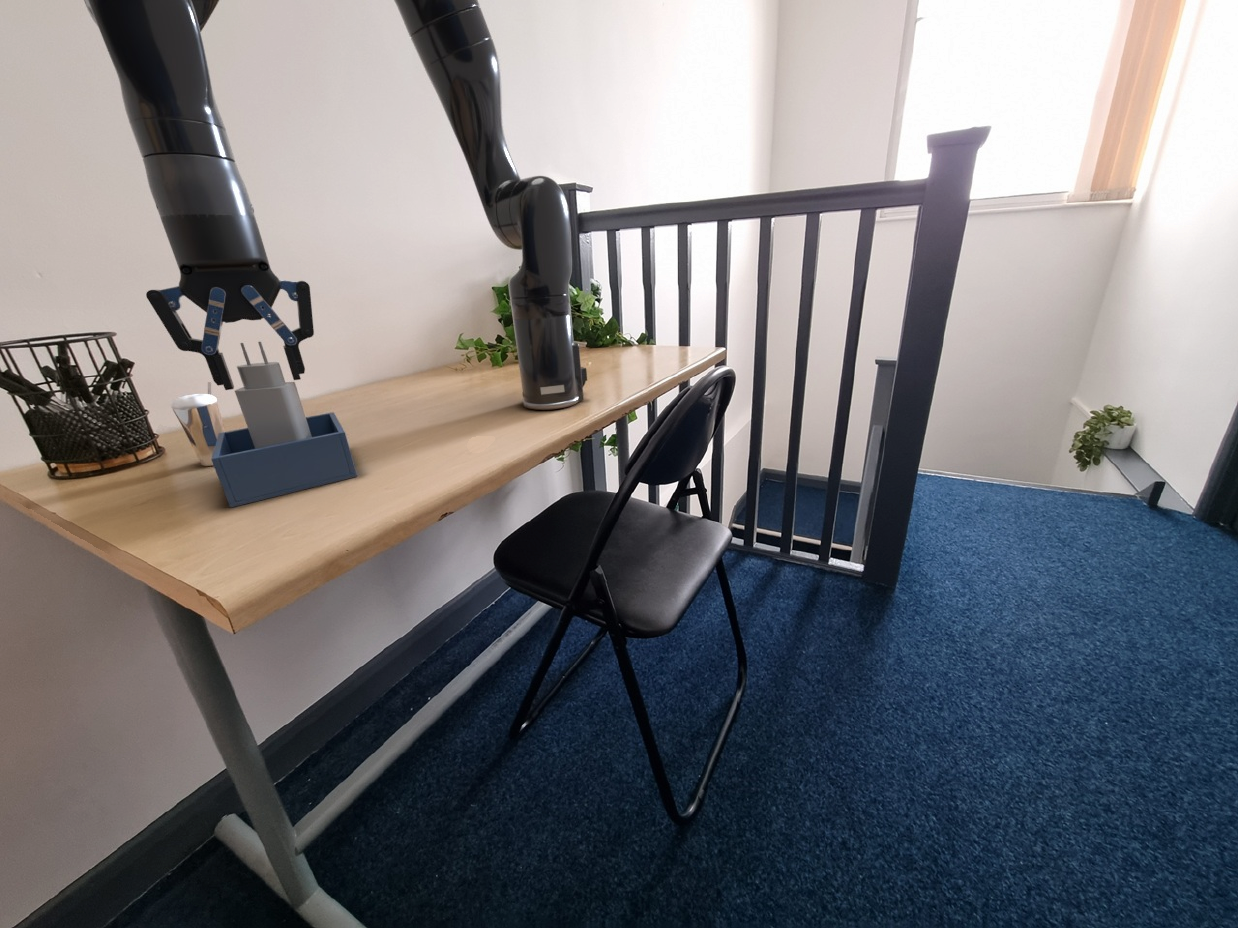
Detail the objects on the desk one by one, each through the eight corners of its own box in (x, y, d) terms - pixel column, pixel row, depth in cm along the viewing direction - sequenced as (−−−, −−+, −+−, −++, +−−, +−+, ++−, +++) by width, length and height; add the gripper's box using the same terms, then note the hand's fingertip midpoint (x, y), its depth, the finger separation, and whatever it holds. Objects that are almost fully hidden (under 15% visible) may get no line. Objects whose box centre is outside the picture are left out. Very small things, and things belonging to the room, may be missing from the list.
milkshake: (251, 452, 68) (225, 381, 65) (218, 467, 63) (188, 391, 60) (221, 453, 69) (194, 382, 65) (186, 468, 64) (154, 392, 60)
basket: (344, 451, 67) (333, 412, 65) (357, 476, 58) (345, 432, 56) (234, 475, 61) (218, 433, 58) (230, 507, 52) (211, 459, 50)
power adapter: (302, 449, 57) (268, 342, 52) (253, 453, 56) (214, 346, 52) (315, 440, 59) (284, 338, 55) (268, 444, 59) (233, 341, 55)
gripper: (100, 210, 42) (178, 402, 49) (295, 210, 49) (340, 377, 56) (119, 219, 48) (186, 389, 54) (291, 218, 55) (333, 369, 62)
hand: (264, 383), depth 55 cm, fingers closed on power adapter, 5 cm apart
